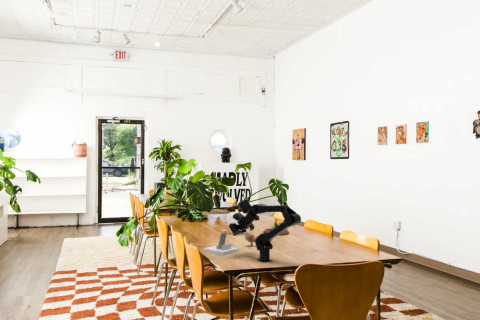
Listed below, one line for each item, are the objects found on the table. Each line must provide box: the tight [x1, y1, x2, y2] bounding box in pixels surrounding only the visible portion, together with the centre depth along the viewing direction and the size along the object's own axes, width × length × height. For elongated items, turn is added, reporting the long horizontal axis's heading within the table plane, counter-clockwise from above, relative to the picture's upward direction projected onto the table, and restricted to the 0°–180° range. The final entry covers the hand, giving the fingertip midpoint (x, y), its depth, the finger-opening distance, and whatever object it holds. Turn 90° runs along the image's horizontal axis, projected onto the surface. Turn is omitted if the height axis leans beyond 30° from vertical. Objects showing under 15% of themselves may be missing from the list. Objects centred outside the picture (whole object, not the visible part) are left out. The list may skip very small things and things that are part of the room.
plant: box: [263, 218, 290, 237], centre depth 350 cm, size 20×20×11 cm
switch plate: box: [202, 243, 240, 256], centre depth 279 cm, size 16×16×5 cm
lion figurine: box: [244, 232, 258, 248], centre depth 297 cm, size 15×5×9 cm, turn 91°
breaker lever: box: [218, 229, 228, 248], centre depth 278 cm, size 2×5×12 cm, turn 140°
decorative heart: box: [225, 211, 247, 235], centre depth 342 cm, size 18×11×17 cm, turn 106°
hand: (234, 235), depth 272 cm, fingers closed
